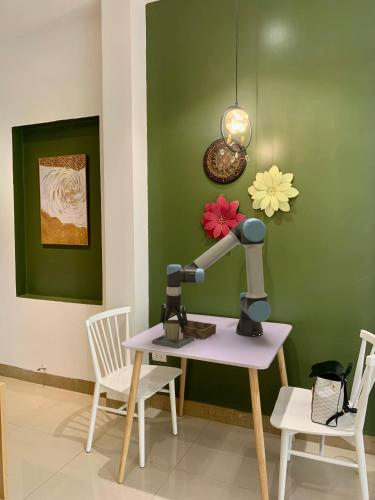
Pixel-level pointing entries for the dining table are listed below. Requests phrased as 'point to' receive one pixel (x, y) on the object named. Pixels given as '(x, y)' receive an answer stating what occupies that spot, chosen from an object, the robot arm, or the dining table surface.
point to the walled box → (199, 329)
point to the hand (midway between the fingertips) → (173, 337)
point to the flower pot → (172, 329)
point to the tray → (173, 341)
